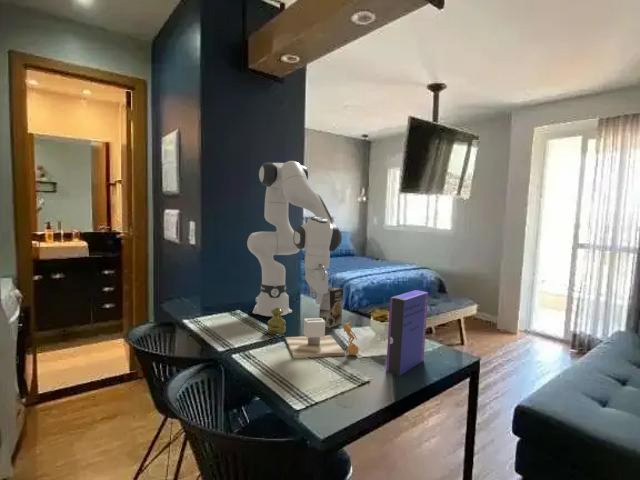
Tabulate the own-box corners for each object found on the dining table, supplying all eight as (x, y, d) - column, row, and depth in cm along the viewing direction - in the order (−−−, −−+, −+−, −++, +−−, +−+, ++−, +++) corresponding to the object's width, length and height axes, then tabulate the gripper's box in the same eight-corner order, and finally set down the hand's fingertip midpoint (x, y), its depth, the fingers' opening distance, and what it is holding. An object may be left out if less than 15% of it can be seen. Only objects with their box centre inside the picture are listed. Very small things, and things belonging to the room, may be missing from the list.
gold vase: (282, 336, 151) (283, 311, 150) (264, 334, 152) (265, 309, 152) (287, 330, 158) (288, 306, 157) (270, 328, 160) (271, 305, 159)
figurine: (363, 358, 131) (365, 324, 130) (348, 360, 129) (350, 325, 128) (351, 350, 139) (353, 317, 138) (337, 352, 136) (338, 319, 135)
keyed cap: (321, 332, 142) (322, 317, 142) (324, 336, 138) (325, 321, 137) (303, 333, 141) (304, 318, 140) (306, 337, 136) (306, 321, 136)
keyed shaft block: (285, 340, 146) (286, 316, 145) (330, 338, 150) (331, 315, 150) (293, 358, 129) (294, 331, 128) (344, 355, 133) (346, 329, 132)
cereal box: (410, 356, 135) (415, 289, 133) (423, 360, 132) (428, 291, 130) (386, 371, 121) (390, 297, 119) (399, 376, 118) (404, 299, 116)
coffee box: (330, 328, 164) (332, 291, 162) (318, 325, 167) (320, 288, 166) (342, 323, 171) (344, 288, 170) (330, 320, 175) (332, 285, 173)
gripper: (333, 267, 128) (331, 308, 129) (319, 258, 148) (317, 293, 149) (315, 267, 126) (313, 308, 128) (303, 258, 146) (301, 293, 147)
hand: (315, 300), depth 138 cm, fingers open, 8 cm apart
